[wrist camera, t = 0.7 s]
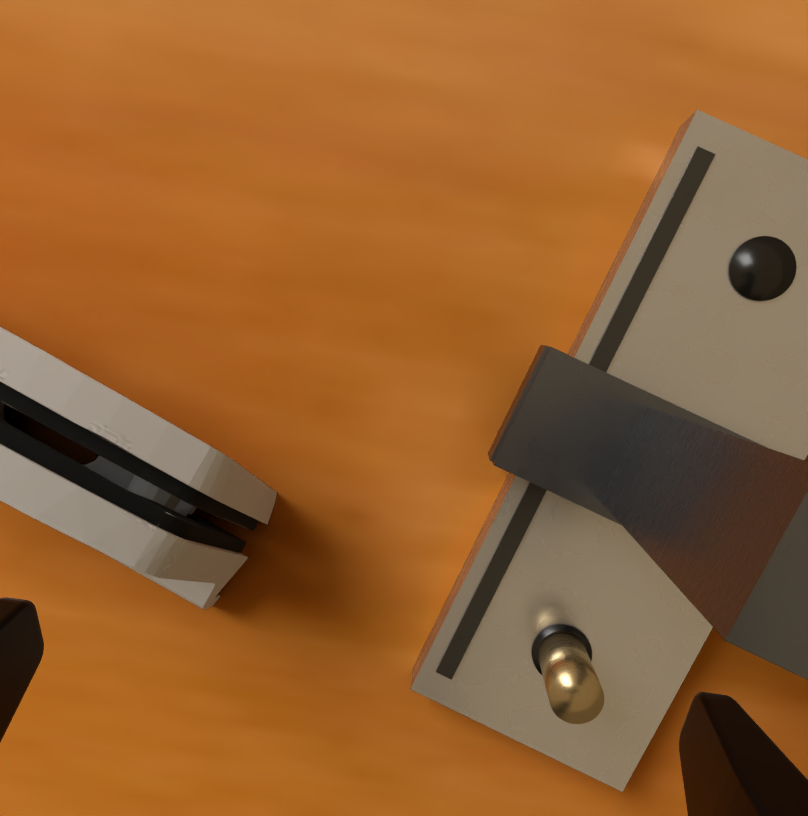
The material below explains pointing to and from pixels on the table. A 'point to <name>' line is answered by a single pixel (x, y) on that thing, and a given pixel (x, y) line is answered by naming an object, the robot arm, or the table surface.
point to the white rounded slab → (123, 477)
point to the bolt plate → (607, 540)
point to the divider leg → (674, 496)
